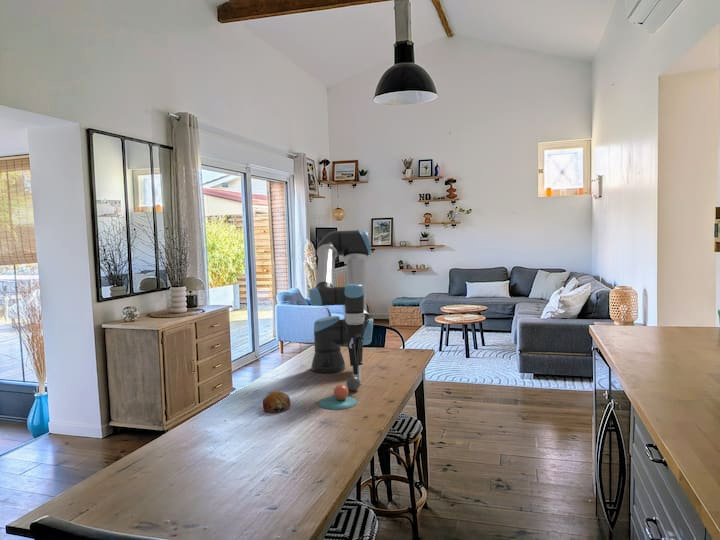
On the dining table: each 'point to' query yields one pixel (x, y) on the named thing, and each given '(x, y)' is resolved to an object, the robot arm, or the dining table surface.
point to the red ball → (341, 392)
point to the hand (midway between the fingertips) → (356, 381)
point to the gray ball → (353, 383)
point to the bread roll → (276, 402)
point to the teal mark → (337, 403)
